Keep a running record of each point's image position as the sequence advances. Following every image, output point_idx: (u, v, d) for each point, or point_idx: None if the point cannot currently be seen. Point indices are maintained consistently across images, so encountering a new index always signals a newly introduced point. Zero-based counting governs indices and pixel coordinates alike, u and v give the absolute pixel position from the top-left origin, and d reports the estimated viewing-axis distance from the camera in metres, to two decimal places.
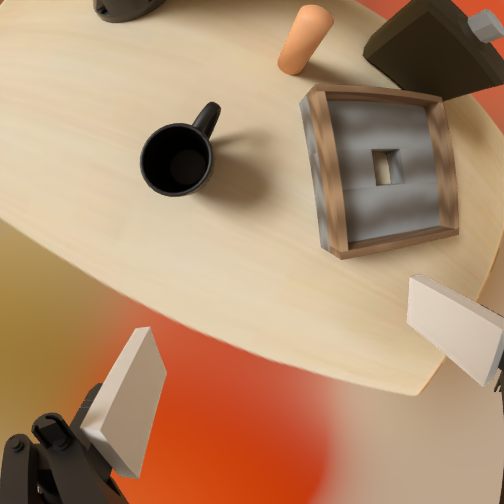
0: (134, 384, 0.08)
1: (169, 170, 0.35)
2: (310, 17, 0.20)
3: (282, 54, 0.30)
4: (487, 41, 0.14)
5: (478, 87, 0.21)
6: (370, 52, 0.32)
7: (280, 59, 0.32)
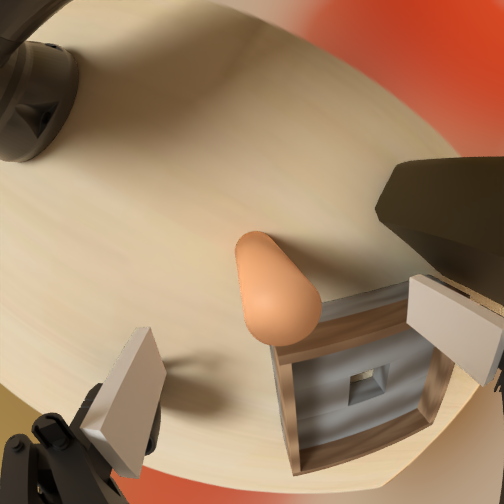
0: (134, 384, 0.08)
1: None
2: (269, 320, 0.14)
3: None
4: None
5: None
6: (387, 217, 0.25)
7: None
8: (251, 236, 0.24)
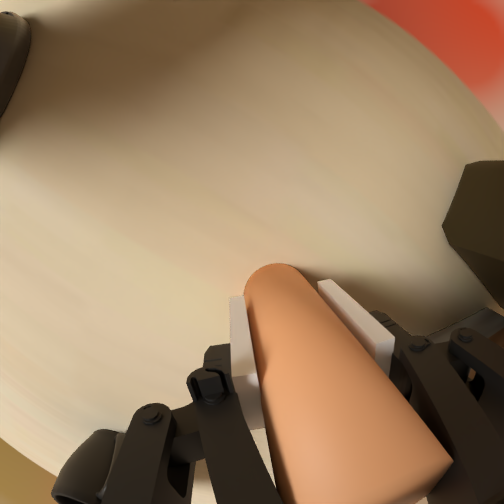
0: None
1: None
2: None
3: None
4: None
5: None
6: (464, 240, 0.14)
7: None
8: (273, 277, 0.14)
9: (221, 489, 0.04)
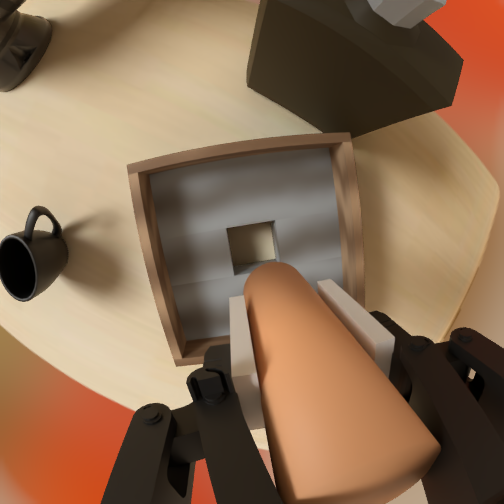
0: (251, 340, 0.11)
1: None
2: None
3: None
4: (410, 23, 0.10)
5: (403, 114, 0.17)
6: (248, 77, 0.27)
7: None
8: (271, 274, 0.15)
9: (221, 489, 0.04)
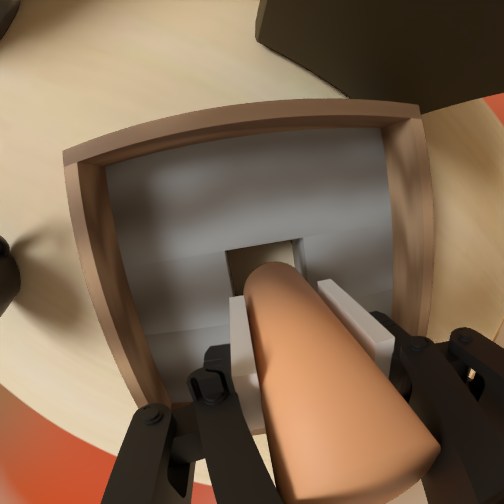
0: (251, 340, 0.11)
1: None
2: None
3: None
4: None
5: None
6: (259, 27, 0.16)
7: None
8: (271, 274, 0.15)
9: (221, 489, 0.04)
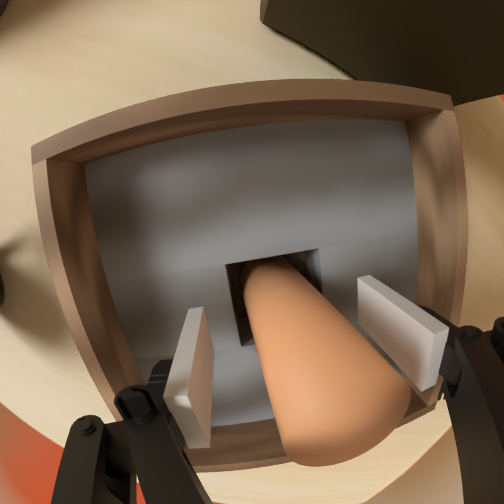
0: (200, 356, 0.10)
1: None
2: (325, 442, 0.06)
3: None
4: None
5: None
6: (265, 6, 0.13)
7: None
8: (265, 263, 0.17)
9: None
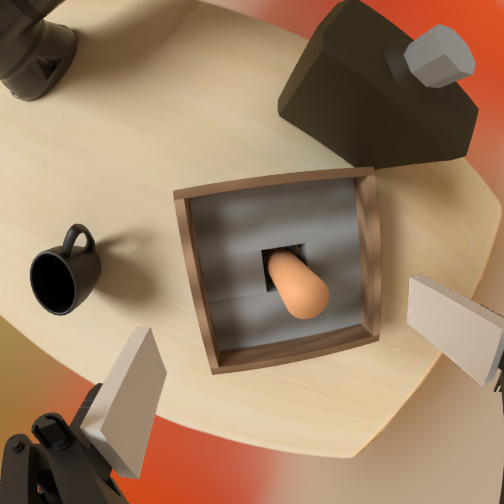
0: (134, 384, 0.08)
1: None
2: (299, 303, 0.23)
3: (268, 271, 0.33)
4: (440, 85, 0.13)
5: (424, 159, 0.20)
6: (281, 108, 0.30)
7: (267, 268, 0.35)
8: (278, 250, 0.34)
9: None
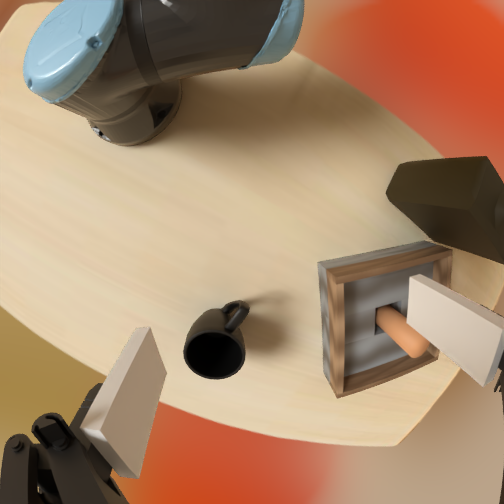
0: (134, 384, 0.08)
1: None
2: (415, 349, 0.31)
3: (377, 320, 0.41)
4: None
5: (489, 258, 0.28)
6: (394, 197, 0.38)
7: None
8: None
9: None
